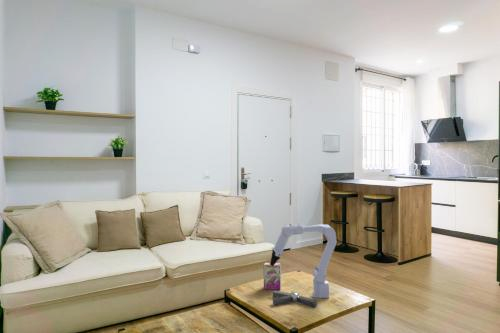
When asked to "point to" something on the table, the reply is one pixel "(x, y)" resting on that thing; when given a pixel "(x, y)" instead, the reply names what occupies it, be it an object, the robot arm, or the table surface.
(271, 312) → the table surface
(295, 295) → the stool base
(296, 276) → the table surface
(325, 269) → the robot arm
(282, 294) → the folding foot
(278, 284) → the candy bar box
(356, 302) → the table surface
